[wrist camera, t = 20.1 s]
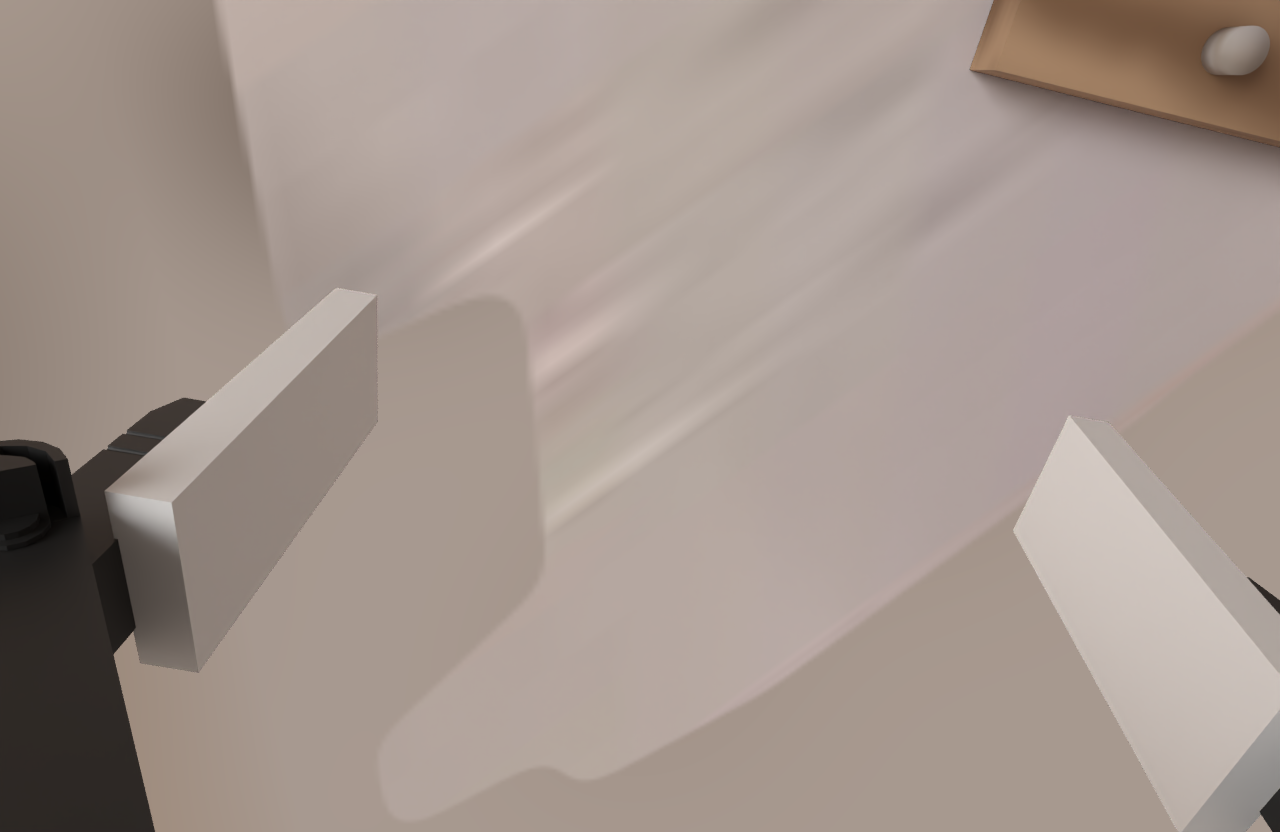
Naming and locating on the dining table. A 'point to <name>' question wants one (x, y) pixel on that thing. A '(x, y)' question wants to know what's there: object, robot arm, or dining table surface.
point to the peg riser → (1147, 57)
